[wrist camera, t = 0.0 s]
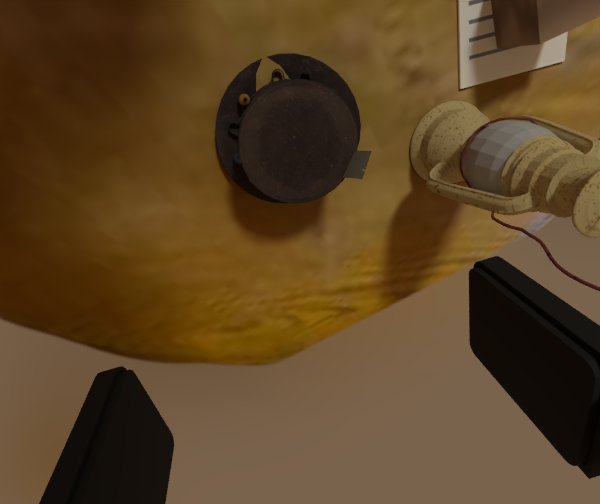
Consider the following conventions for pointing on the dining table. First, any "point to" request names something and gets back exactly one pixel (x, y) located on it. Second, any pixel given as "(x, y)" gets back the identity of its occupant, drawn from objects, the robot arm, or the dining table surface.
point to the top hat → (290, 132)
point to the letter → (487, 57)
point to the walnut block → (538, 19)
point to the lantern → (510, 166)
